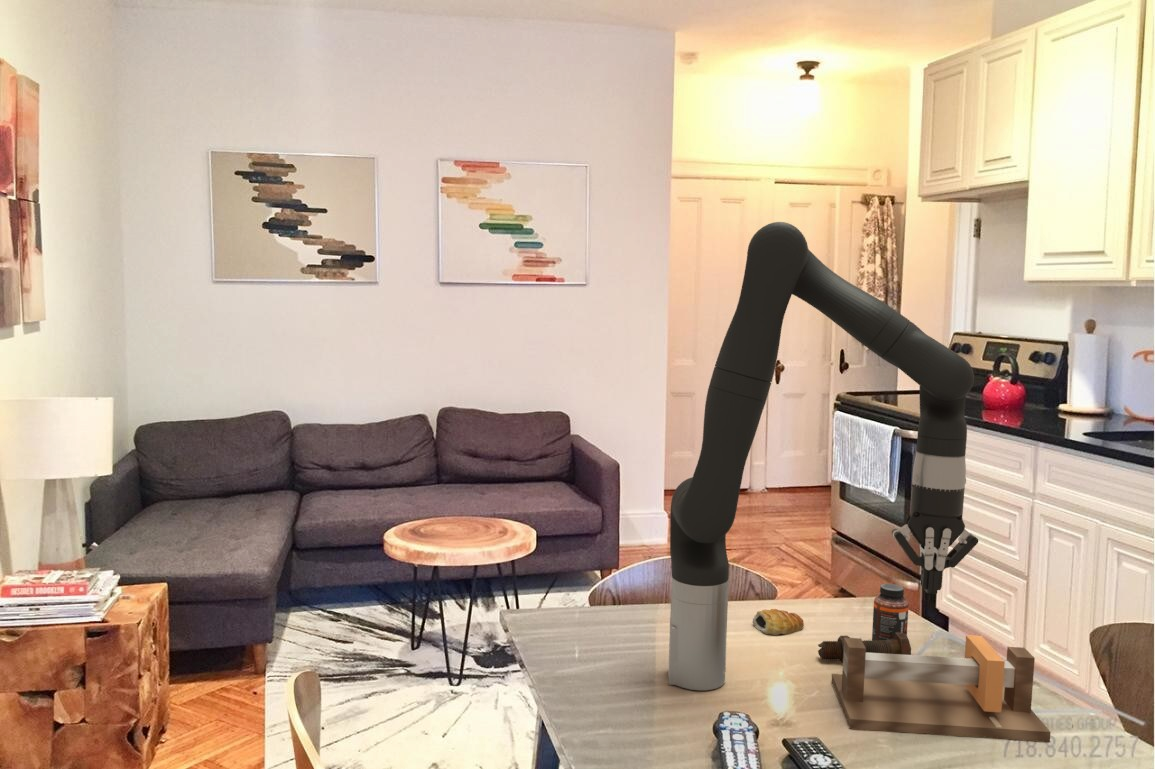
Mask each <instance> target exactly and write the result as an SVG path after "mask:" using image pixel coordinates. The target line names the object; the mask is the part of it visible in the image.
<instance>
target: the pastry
mask: <svg viewBox="0 0 1155 769" xmlns="http://www.w3.org/2000/svg"><path fill="white" fill-rule="evenodd" d="M752 623H753V626H754V628H755V629H757V630H759V631H760V630H761V632H762V633H764V634H766V635H770V636H779V635H780V634H783V635H790V634H793V633H797V632H799V631H801V630H802V629H803V628H804V625H805V623H804V620H803V618H802V616H800V615H799V614H796V613H795V612H788V611H786V610H780V609H778V608H777V609H776V608H771V609H761V610H759V611H756V614H755V615H754V616H753V618H752Z"/></svg>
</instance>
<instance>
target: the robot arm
mask: <svg viewBox="0 0 1155 769" xmlns="http://www.w3.org/2000/svg"><path fill="white" fill-rule="evenodd" d="M746 252H747V253H746V261H745V269H744V272H743V273H744V275H743V279H742V284H741V290H740V293H739V298H738V302H737V305H736V309H735V310H734V311H735V312H734V315H733V316H732V318H731V321H730V323H729V325H728V328H727V331H726V333H725V336H724V339H723V341H722V344H721V347H720V349H719V353H718V356H717V357H716V358H717V359H716V361H715V365H714V368H713V371H712V375H711V378H710V381H709V385H708V388H707V392H706V393H707V394H706V398H705V404H704V415H703V426H702V428H703V430H702V442H701V450H700V452H699V453H700V454H699V458H698V459H697V464H696V467H695V469H694V472H693V475H692V476H691V477H689V478H687V479H684V480H683V481H681V483H680V484H678V485H677V487H676V488H675V490H674V492H673V494H672V497H671V503H670V513H669V514H670V515H669V516H670V517H669V518H670V520H669V522H670V523H669V527H670V528H669V536H670V537H669V554H670V564H671V585H670V586H671V587H670V612H669V613H670V617H669V638H668V639H669V640H668V641H669V642H668V643H669V644H668V646H669V647H668V652H669V653H668V675H667V676H668V682H667V684H668V685H671V686H672V685H673V686H677V687H679V688H682V689H686V690H691V691H712V690H715V689H719V688H721V687H722V686H723V685H725V681H726V668H727V667H726V661H727V635H728V634H727V633H728V632H727V631H728V630H727V629H728V609H729V608H728V606H729V605H728V604H729V579H730V578H729V576H730V572H729V571H730V564H729V560H728V553H727V544H726V542H727V541H726V540H727V539H726V538H727V536H726V535H727V534H728V533H729V531H730V530H731V528H732V526H733V524H734V522H735V519H736V514H737V510H738V508H737V507H738V503H739V498H740V492H741V486H742V481H743V477H744V476H743V475H744V470H745V466H746V464H747V463H746V462H747V459H748V457H749V453H750V450H751V448H752V445H753V442H754V439H755V436H756V434H757V431H758V426H759V424H760V421H761V418H762V414H763V411H764V408H765V405H766V403H767V399H768V396H769V393H770V389H771V386H772V382H773V378H774V375H775V369H776V366H777V360H778V355H779V350H780V349H779V348H780V344H781V343H780V342H781V334H782V329H783V327H782V326H783V323H784V318H785V316H786V315H785V314H786V311H787V308H788V306H789V303H790V300H791V298H792V295H793V296H795V297H797V298H798V299H800V300H802V301H804V302H805V303H806V304H808V305H810V306H811V307H813V308H814V309H816V310H818V311H819V312H821V313H822V315H825V316H826V317H827V318H828V319H830V320H831V321H832V322H834V323H835V324H836V325H837V326H839V327H840V328H841V329H842V330H844V331H845V332H846V333H847V334H848V335H850V336H851V337H852V338H853V339H855V340H856V341H857V342H859V343H860V344H862V345H863V346H864V347H866V348H867V349H869V351H871V352H873V353H874V354H875V355H876V356H878V357H880V358H881V359H882V360H883V361H885V362H887V363H889V364H890V365H892V366H894V367H896V368H897V369H899V370H900V371H902V372H903V373H904V374H905V375H907V376H908V377H909V378H910V379H911V380H912V381H914V382H915V383H916V384H917V385H918V386H919V423H918V428H917V440H916V451H915V459H914V462H913V469H912V482H911V483H912V485H911V494H910V496H911V497H910V508H909V509H910V510H909V515H908V517H907V518H906V521H905V524H904V525H902V526H901V527H899V528H898V529H897V528H894V529H892V530H891V535H892V536H893V538H894V539H895V540H896V542H897V544H898V545H899V546H900V548H901V549H902V550H903V552H904V554H905V555H906V556H907V557H908V559H909V560H910V561H911V562H912V563H913V564H914V565H915V566H919V567H920V568H921V570H920V582H919V584H920V586H921V588H922V589H923V590H924V592H925V593H926V594H938V591H941V589H942V587H943V575H944V574H943V573H944V570H946V569H948V568H955V567H956V566H958V564H959V563H960V562H961V561H962V560H964V558H965V557H966V556H967V555H968V554H969V553H970V551H972V550H973V549H974V548H975V546H976V545H978V543H979V539H978V537H976V536H975V535H974V534H972V532H971V533H970V532H969V531H968V530H966V529H965V528H966V526H965V524H966V523H965V522H964V520H963V515H964V501H965V500H964V499H965V489H966V483H967V479H966V478H967V477H966V474H967V464H966V454H967V453H966V452H967V451H966V450H967V438H968V429H967V428H968V427H967V421H966V417H965V409H966V397H967V396H966V395H968V393H969V392H970V391H971V390H972V388H973V385H974V382H975V373H974V370H973V367H972V365H971V364H970V362H969V361H968V360H967V359H965V358H964V357H963V356H961V355H960V354H958V353H956V352H955V351H954V350H952V349H950V348H949V347H947V346H946V345H945V344H943V343H941V342H939V341H938V340H936V339H934V338H933V337H931V335H928V334H926V333H925V332H924V331H923V330H922V329H921V328H920V327H918V325H916V324H915V323H914V322H912V321H910V319H908V318H907V317H906V316H904V315H902V314H901V313H900V312H898V310H896V309H894V308H893V307H891V306H890V305H888V304H887V303H885V302H884V301H882V300H881V299H879V298H877V297H875V296H874V295H872V294H870V293H869V292H867V291H865V290H863V289H861V288H859V287H858V286H856V285H855V284H852V283H851V282H849V281H847V280H846V279H844V278H843V277H842V276H840V275H838V274H837V273H835V272H834V271H833V270H832V269H830V268H829V267H828V266H826V265H825V264H824V263H823V262H822V261H821V260H820V259H819V258H818V257H817V256H816V255H815V254H814V253H813V252H812V251H811V250H810V249H809V247H808V242H807V239H806V237H805V236H804V234H803V233H802V232H801V231H800V229H798V227H796V226H795V225H793V224H791V223H789V222H785V221H775V222H771V223H768V224H765V225H763V226H762V227H761V228H760V229H758V230H757V231H756V232H755V233H754V234H753V235H752V237H751V239H750V241H749V243H748V247H747V251H746ZM910 532H911V534H912V536H913V537H914V539H915V540H916V542H917V543H918V544H919V550H920V555H918V553H917V552H916V551H915V550H914V548H913V547H912V546H911V544H910V543H909V541H910V540H911V536H910ZM957 539H958V543H957V544H955V546H954V547H952V549H951V550H950V551H949V547H951V546H952V545H953V543H955V542H956V540H957ZM948 551H949V552H948Z"/></svg>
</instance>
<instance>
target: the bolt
mask: <svg viewBox="0 0 1155 769" xmlns="http://www.w3.org/2000/svg"><path fill="white" fill-rule="evenodd" d="M844 638H851V637H850V636H848V635H840V636H839V637H838V638H837V640H823V641H822V642H820V643H819V644H817V646H818V647H819V649H818V650H817V653H818V656H819V657H820V659H822V661H823V660H824V661H825V660H826V661H827V660H828V661H831V660H832V661H833V660H834V661H835V660H836V661H837V660H838V661H839V662H840V661H841V662H840V663H841V664H842V665H843V651H844ZM862 642H863V644H864V646H865V648H866V652H867V653H885V654H902V655H912V647H911V642H910V639H909V637H908V635H907V636H906V635H905V634H904V633H902V632H895V635H894V638H893V640H880V641H879V640H878V641H877V640H876V641H875V640H874V641H873V640H872V639H871V640H869V639H868V640H862Z"/></svg>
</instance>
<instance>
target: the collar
mask: <svg viewBox="0 0 1155 769" xmlns="http://www.w3.org/2000/svg"><path fill="white" fill-rule="evenodd" d="M964 645H965V646H964V658H972V659H975V660H976V661H977V662H978V663H979V665H980V669H979V684H978V686H976V685H965V686H966V687H967V689H968V690H969V691H970V693H971V694H972V695H973V697H974V698H975V700H976V701H977V702H978V704H979V705H980V706H981V708H982V709H983V710H984V711H987V712H1001V708H1002V693H1003V679H1004V664H1005V661H1004V659H1003V657H1001V655H1000V654H998V652H997V651H996V650H995V649H994V648H993V646H991V644H990V643H989V642H988V641H987V640H986V638H984V637H983V635H975V634H973V635H970V634H966V635H965V643H964Z"/></svg>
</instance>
